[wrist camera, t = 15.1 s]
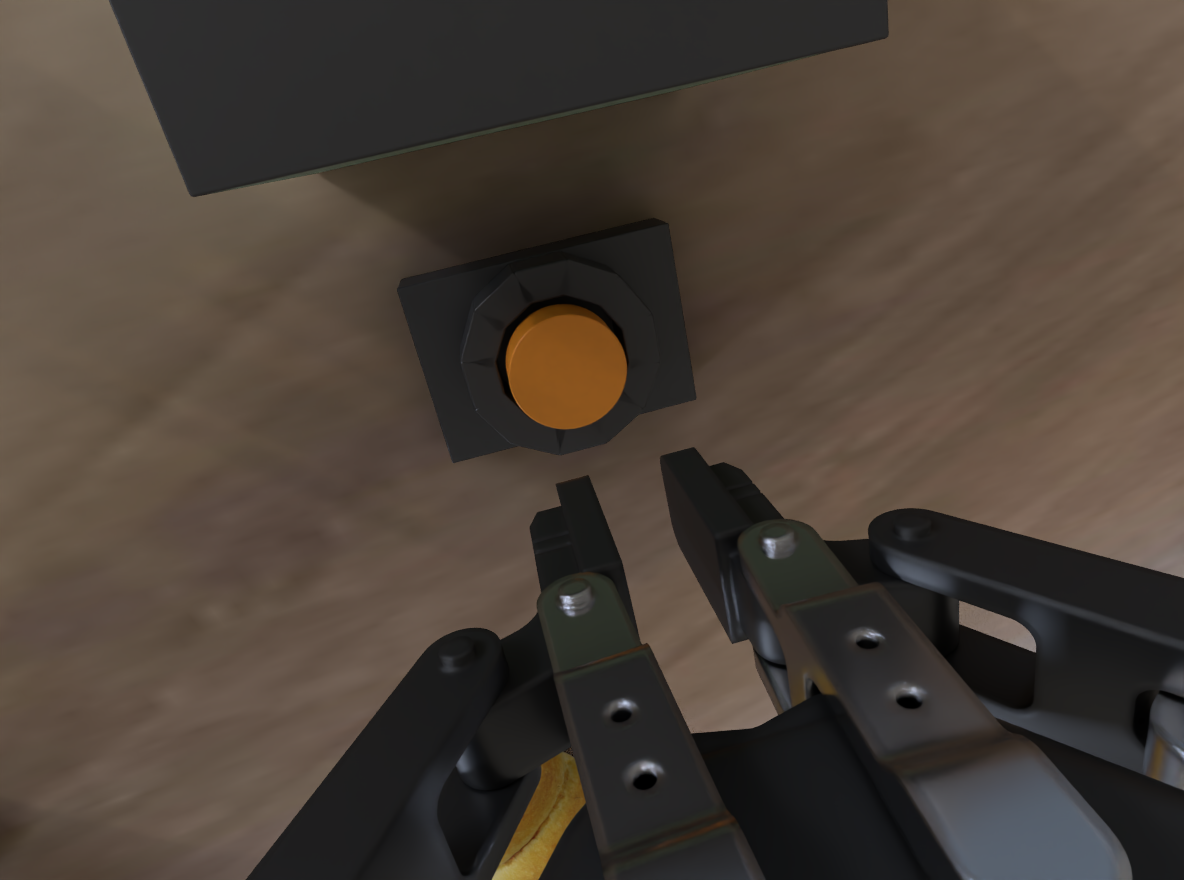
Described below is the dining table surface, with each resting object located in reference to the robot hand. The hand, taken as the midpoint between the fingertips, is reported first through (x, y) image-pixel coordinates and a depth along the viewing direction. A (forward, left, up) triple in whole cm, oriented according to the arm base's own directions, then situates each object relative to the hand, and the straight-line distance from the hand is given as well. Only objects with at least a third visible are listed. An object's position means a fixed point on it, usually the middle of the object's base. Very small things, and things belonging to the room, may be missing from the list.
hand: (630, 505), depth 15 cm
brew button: (0, 0, -11) cm, 11 cm away
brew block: (0, 0, -15) cm, 15 cm away
